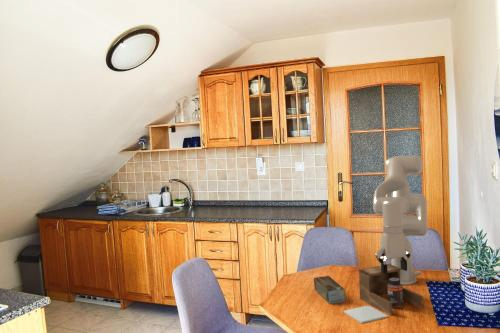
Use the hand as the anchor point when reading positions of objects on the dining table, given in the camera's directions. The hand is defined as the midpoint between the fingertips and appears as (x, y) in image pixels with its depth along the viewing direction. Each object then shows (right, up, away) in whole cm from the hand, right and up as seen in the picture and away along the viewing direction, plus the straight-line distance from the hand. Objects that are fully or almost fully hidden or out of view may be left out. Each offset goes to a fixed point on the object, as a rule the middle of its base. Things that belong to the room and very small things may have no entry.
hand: (394, 271), depth 176 cm
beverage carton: (-23, -15, +17) cm, 33 cm away
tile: (-13, -16, -6) cm, 21 cm away
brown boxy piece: (0, -14, +5) cm, 15 cm away
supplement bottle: (+1, -15, +1) cm, 15 cm away
